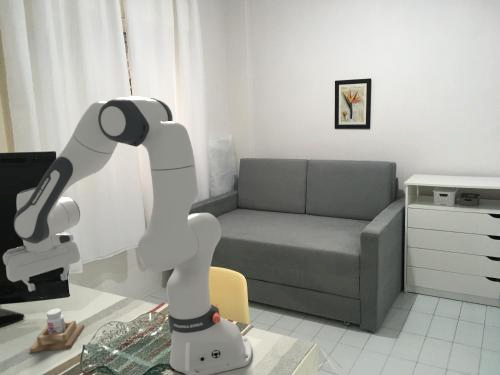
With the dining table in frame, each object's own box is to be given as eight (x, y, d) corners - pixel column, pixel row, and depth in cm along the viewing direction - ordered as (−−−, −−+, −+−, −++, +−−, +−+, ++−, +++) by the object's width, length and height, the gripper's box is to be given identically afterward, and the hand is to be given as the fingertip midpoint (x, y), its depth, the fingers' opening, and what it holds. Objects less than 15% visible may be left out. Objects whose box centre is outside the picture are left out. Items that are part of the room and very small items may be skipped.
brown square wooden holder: (84, 327, 136) (82, 317, 136) (71, 347, 124) (69, 337, 124) (47, 331, 136) (45, 321, 135) (30, 352, 124) (28, 341, 123)
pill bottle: (48, 341, 127) (43, 316, 125) (52, 333, 132) (47, 309, 130) (64, 338, 128) (60, 313, 126) (68, 331, 133) (63, 306, 131)
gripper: (4, 253, 115) (13, 300, 117) (78, 233, 128) (85, 276, 131) (-2, 249, 119) (8, 294, 122) (70, 231, 133) (77, 271, 136)
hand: (48, 284), depth 127 cm, fingers open, 8 cm apart
